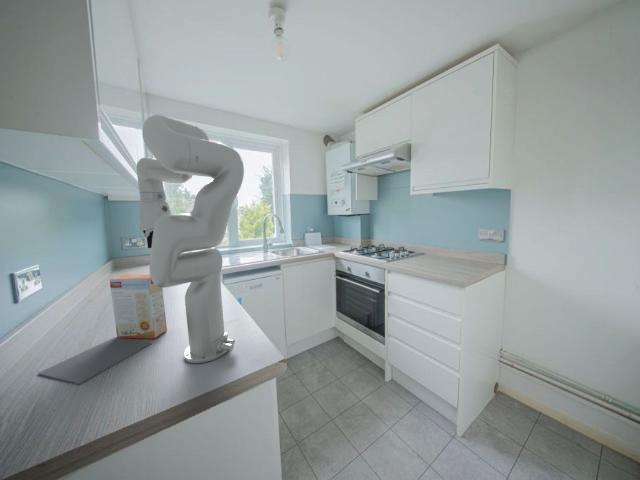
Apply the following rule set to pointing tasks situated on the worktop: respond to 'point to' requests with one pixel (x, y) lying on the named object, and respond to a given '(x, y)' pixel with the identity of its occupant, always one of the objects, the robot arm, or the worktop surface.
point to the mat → (94, 360)
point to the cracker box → (138, 307)
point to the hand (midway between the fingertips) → (158, 247)
